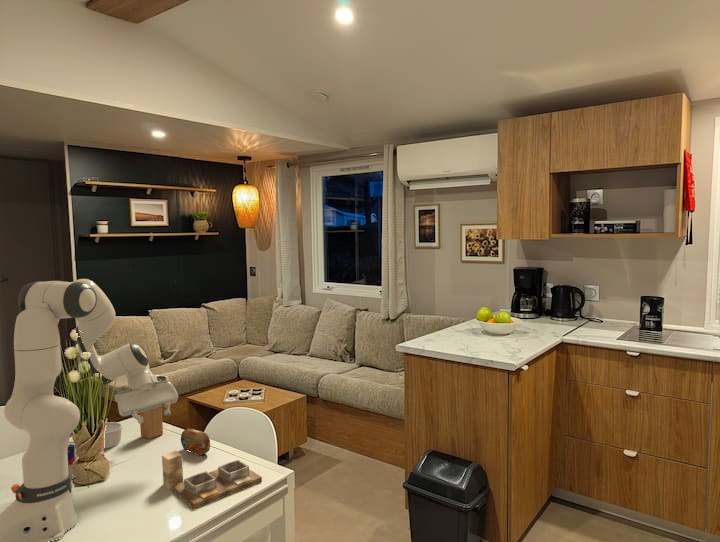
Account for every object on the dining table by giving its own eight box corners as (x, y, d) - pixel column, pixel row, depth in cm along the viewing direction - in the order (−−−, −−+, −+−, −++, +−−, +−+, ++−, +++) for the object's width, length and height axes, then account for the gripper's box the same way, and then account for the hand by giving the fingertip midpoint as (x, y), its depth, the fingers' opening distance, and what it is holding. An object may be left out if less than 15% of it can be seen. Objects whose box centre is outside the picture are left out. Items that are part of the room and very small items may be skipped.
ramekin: (116, 435, 214) (115, 419, 214) (127, 444, 205) (126, 427, 204) (82, 445, 205) (80, 428, 204) (92, 454, 195) (91, 437, 195)
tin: (180, 449, 198) (179, 428, 198) (187, 446, 201) (186, 425, 200) (205, 458, 190) (204, 436, 189) (212, 454, 192) (211, 433, 192)
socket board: (193, 508, 154) (193, 494, 154) (172, 490, 166) (171, 477, 166) (261, 481, 170) (261, 468, 170) (237, 466, 182) (237, 454, 182)
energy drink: (70, 482, 173) (67, 448, 172) (56, 480, 174) (54, 447, 174) (81, 474, 179) (79, 441, 178) (68, 473, 180) (66, 440, 179)
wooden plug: (169, 489, 167) (167, 459, 166) (163, 484, 170) (161, 455, 170) (183, 483, 170) (181, 455, 169) (177, 479, 174) (175, 450, 173)
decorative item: (154, 431, 217) (152, 385, 216) (163, 434, 213) (161, 388, 212) (140, 436, 212) (137, 389, 210) (149, 439, 208) (146, 392, 207)
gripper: (114, 388, 176) (126, 422, 170) (172, 375, 190) (184, 406, 184) (111, 397, 180) (122, 431, 174) (168, 384, 194) (180, 415, 187)
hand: (155, 418), depth 179 cm, fingers open, 8 cm apart
